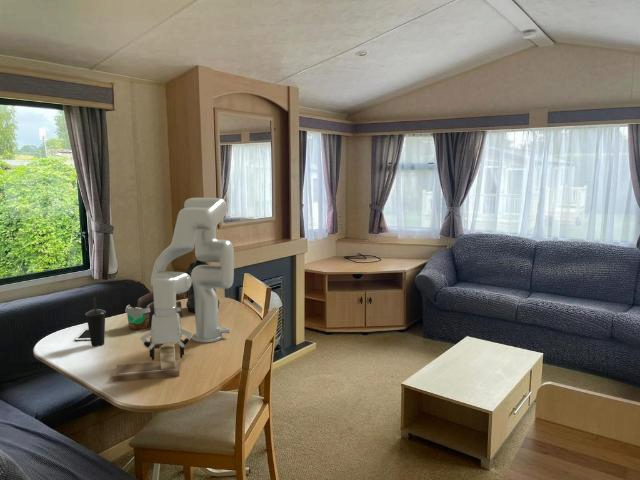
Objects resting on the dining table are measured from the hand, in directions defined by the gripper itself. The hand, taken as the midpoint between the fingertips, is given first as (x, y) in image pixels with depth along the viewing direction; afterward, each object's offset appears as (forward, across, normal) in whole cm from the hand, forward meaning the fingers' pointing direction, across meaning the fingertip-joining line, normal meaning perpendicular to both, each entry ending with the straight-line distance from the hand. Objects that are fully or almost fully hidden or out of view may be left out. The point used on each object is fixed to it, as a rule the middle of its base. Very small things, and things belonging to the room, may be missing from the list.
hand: (167, 357), depth 179 cm
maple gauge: (+3, 0, 0) cm, 3 cm away
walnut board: (+5, +7, 0) cm, 9 cm away
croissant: (+5, +6, -31) cm, 32 cm away
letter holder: (+5, +7, -60) cm, 61 cm away
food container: (+5, +17, -51) cm, 54 cm away
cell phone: (+5, +36, -47) cm, 60 cm away
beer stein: (+4, -11, -76) cm, 77 cm away
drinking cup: (+5, +30, -34) cm, 46 cm away
